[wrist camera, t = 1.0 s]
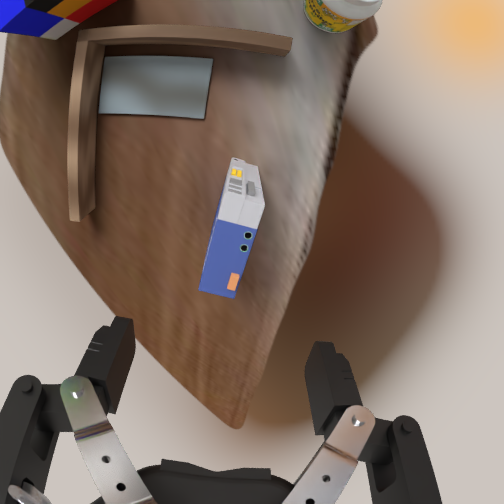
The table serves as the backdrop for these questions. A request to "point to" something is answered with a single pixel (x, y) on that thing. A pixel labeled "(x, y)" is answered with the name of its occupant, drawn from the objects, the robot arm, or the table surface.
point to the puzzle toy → (46, 16)
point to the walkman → (233, 229)
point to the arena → (141, 86)
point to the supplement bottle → (339, 13)
